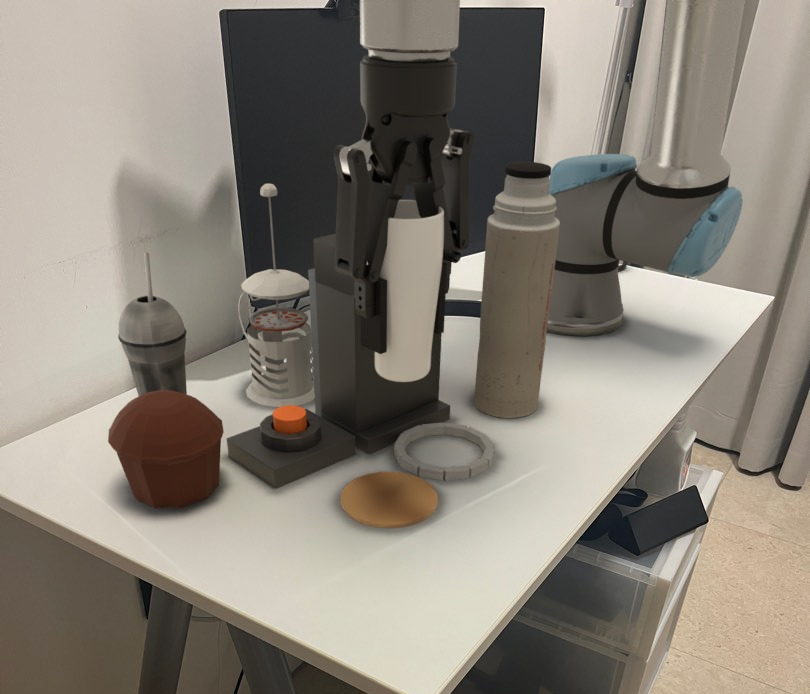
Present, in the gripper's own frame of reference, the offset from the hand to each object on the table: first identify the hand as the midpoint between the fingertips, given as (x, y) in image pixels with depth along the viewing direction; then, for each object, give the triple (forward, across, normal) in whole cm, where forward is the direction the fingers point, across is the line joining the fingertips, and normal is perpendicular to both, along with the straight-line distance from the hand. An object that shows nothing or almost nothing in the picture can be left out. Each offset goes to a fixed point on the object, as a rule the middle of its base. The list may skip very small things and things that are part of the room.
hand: (403, 338), depth 77 cm
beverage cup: (+17, +11, -28) cm, 35 cm away
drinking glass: (+4, 0, 0) cm, 4 cm away
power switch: (+17, +4, -13) cm, 22 cm away
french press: (+17, -5, -28) cm, 34 cm away
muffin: (+17, +17, -16) cm, 29 cm away
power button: (+13, +4, -13) cm, 19 cm away
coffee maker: (+17, -9, -8) cm, 21 cm away
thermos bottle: (+17, -24, -6) cm, 30 cm away
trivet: (+17, +2, +1) cm, 17 cm away
